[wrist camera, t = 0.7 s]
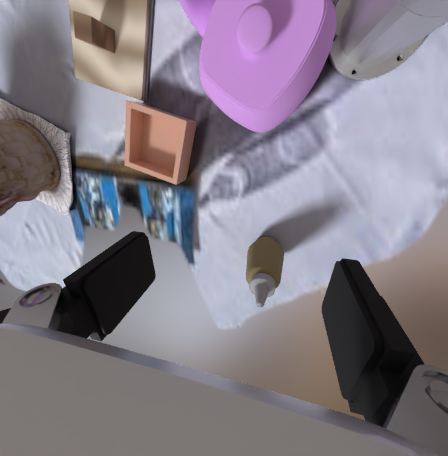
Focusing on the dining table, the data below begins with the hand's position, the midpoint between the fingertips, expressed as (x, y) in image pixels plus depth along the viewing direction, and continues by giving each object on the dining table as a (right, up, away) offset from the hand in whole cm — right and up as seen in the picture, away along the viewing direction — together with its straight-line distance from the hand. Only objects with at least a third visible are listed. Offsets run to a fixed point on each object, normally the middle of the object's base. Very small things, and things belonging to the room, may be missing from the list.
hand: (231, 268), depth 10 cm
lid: (-21, +36, +26) cm, 49 cm away
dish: (-13, +20, +32) cm, 40 cm away
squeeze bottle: (+10, -2, +38) cm, 39 cm away
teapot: (+6, +29, +23) cm, 37 cm away
